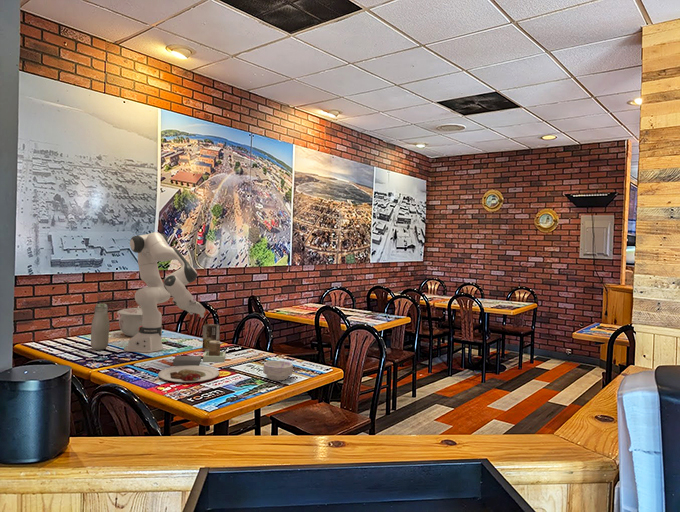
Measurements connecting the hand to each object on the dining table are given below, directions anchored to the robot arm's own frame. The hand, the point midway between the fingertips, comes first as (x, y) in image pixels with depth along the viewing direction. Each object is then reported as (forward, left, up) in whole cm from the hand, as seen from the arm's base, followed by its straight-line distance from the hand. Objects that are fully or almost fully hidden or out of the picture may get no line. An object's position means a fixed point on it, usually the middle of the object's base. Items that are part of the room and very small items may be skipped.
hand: (197, 315), depth 284 cm
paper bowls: (+45, -37, -26) cm, 64 cm away
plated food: (0, -33, -27) cm, 42 cm away
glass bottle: (-59, +23, -26) cm, 68 cm away
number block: (+10, +2, -26) cm, 28 cm away
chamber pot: (-47, +69, -26) cm, 88 cm away
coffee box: (+6, +26, -26) cm, 38 cm away
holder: (+10, +2, -26) cm, 28 cm away
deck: (-4, -8, -26) cm, 28 cm away
